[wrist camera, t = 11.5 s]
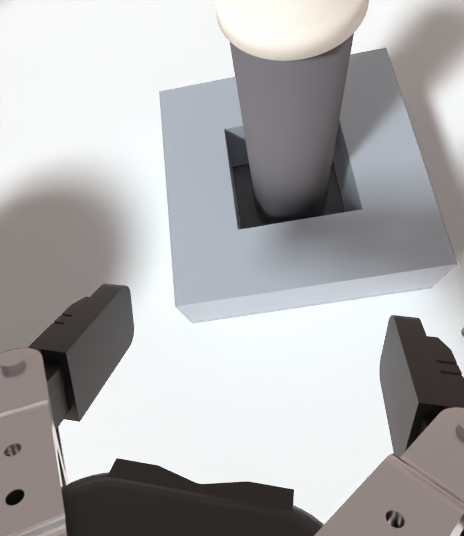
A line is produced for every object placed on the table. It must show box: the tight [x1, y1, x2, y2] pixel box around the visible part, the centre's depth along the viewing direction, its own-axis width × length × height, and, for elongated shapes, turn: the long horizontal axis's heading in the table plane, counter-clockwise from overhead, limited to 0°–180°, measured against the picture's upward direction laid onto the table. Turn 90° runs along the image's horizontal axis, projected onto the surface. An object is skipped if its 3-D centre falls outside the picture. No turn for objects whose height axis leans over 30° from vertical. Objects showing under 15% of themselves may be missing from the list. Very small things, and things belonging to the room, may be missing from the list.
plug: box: [214, 0, 369, 225], centre depth 20 cm, size 5×5×15 cm
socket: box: [159, 48, 457, 323], centre depth 25 cm, size 14×14×4 cm
